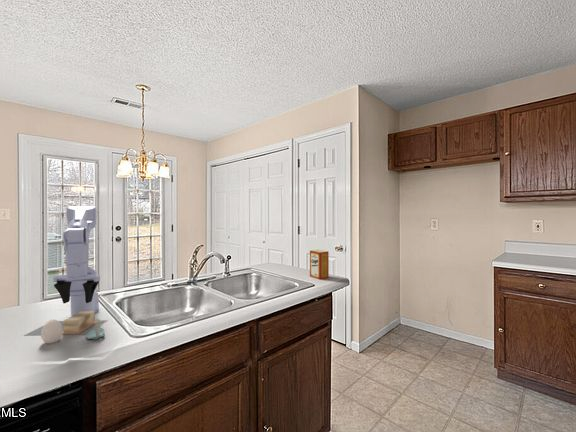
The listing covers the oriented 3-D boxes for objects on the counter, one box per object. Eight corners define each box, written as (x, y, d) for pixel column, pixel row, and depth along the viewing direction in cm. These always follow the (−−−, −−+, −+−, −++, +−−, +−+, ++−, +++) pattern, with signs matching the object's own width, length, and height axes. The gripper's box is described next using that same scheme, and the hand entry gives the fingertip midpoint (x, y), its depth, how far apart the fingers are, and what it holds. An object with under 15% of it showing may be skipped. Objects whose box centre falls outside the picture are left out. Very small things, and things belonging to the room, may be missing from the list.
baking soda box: (309, 276, 175) (309, 250, 175) (318, 274, 179) (318, 249, 178) (320, 279, 167) (319, 251, 167) (328, 278, 171) (328, 251, 171)
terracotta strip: (81, 321, 105) (81, 321, 105) (98, 321, 106) (98, 320, 106) (59, 334, 95) (59, 333, 95) (78, 333, 95) (78, 333, 95)
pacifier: (82, 347, 88) (105, 341, 91) (80, 327, 88) (104, 321, 91) (82, 338, 94) (104, 333, 97) (81, 319, 94) (103, 314, 97)
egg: (65, 338, 93) (65, 315, 93) (59, 345, 88) (59, 321, 88) (45, 341, 91) (44, 318, 91) (38, 348, 86) (37, 324, 86)
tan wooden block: (77, 332, 96) (76, 320, 96) (63, 332, 96) (63, 320, 96) (94, 321, 105) (94, 310, 105) (82, 321, 105) (81, 310, 105)
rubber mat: (52, 322, 106) (52, 321, 106) (108, 322, 106) (108, 320, 106) (23, 337, 94) (23, 335, 94) (85, 336, 94) (85, 334, 94)
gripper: (45, 265, 95) (46, 306, 96) (90, 265, 96) (91, 305, 96) (61, 261, 102) (62, 299, 103) (103, 261, 103) (104, 299, 103)
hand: (77, 302), depth 100 cm, fingers open, 7 cm apart
